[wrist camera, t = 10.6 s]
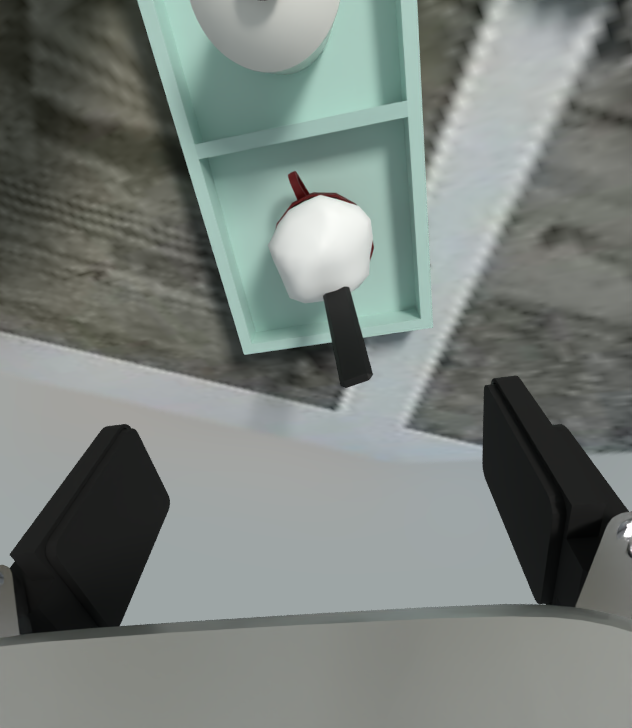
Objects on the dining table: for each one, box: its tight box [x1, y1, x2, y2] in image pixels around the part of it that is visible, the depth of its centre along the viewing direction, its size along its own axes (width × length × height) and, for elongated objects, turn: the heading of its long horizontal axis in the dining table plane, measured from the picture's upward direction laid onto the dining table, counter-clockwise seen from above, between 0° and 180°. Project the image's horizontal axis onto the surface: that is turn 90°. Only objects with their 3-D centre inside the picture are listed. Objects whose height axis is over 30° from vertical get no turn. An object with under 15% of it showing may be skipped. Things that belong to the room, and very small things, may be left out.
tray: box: [137, 0, 433, 355], centre depth 26 cm, size 14×26×3 cm, turn 10°
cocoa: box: [268, 171, 374, 388], centre depth 25 cm, size 10×6×12 cm, turn 2°
